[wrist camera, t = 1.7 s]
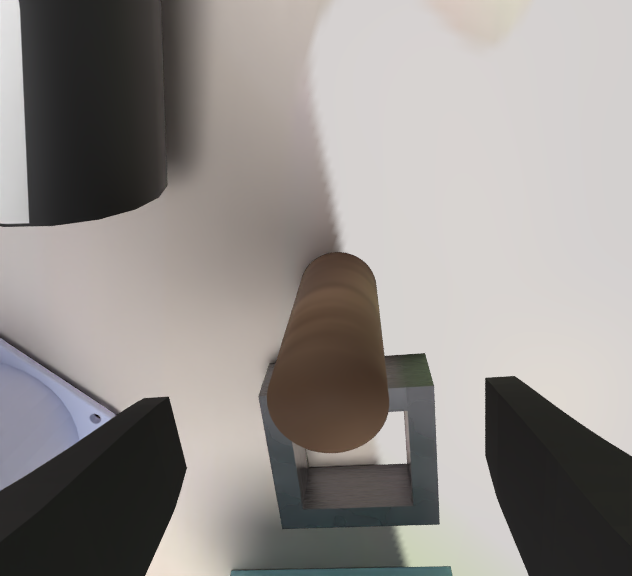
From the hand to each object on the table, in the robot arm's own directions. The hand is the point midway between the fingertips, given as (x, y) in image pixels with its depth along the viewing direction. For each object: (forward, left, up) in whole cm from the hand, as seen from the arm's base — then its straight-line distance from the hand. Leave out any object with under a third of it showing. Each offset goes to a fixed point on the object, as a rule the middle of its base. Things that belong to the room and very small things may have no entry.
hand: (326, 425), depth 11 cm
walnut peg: (0, 0, -9) cm, 9 cm away
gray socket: (+4, -5, -9) cm, 11 cm away
